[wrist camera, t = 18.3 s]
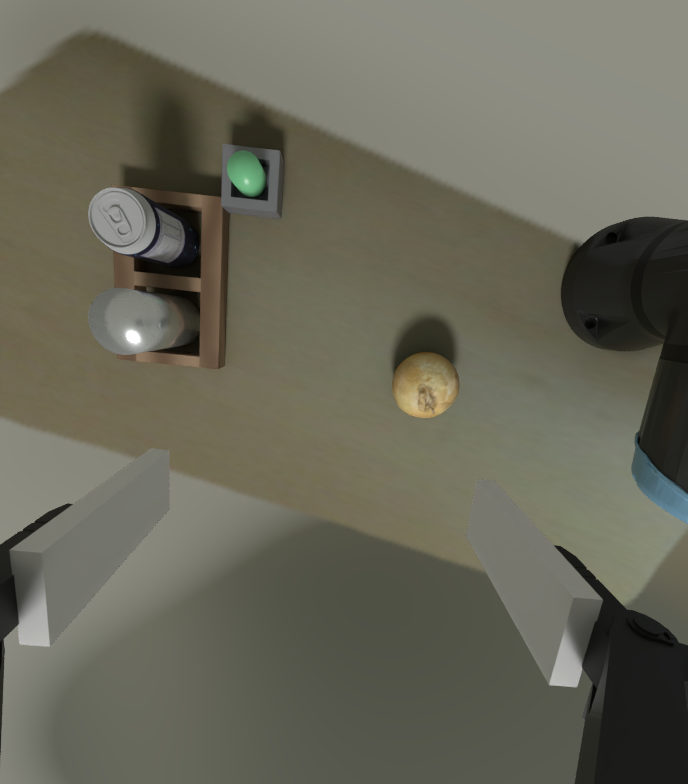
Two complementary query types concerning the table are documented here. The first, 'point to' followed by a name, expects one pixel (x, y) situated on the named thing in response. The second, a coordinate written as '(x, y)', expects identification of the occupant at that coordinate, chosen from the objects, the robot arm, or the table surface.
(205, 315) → the glass rack
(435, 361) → the onion
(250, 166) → the button
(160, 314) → the frosted drinking glass
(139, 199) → the beverage can
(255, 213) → the button housing
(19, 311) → the table surface
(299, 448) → the table surface
